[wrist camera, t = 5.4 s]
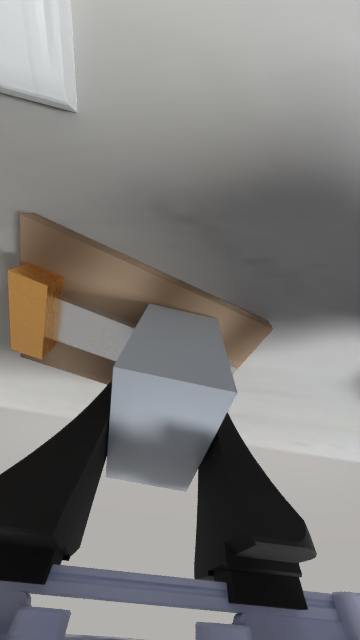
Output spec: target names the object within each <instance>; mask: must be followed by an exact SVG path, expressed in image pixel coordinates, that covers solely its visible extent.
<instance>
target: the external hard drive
mask: <svg viewBox="0 0 360 640" xmlns="http://www.w3.org/2000/svg"><path fill="white" fill-rule="evenodd" d="M0 92H1V93H4V94H8V95H12V96H16V97H19V98H23V99H27V100H30V101H34V102H38V103H42V104H46V105H50V106H53V107H56V108H60V109H64V110H68V111H72V112H75V113H77V112H78V111H77V95H76V79H75V62H74V45H73V29H72V12H71V0H0Z"/></svg>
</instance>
